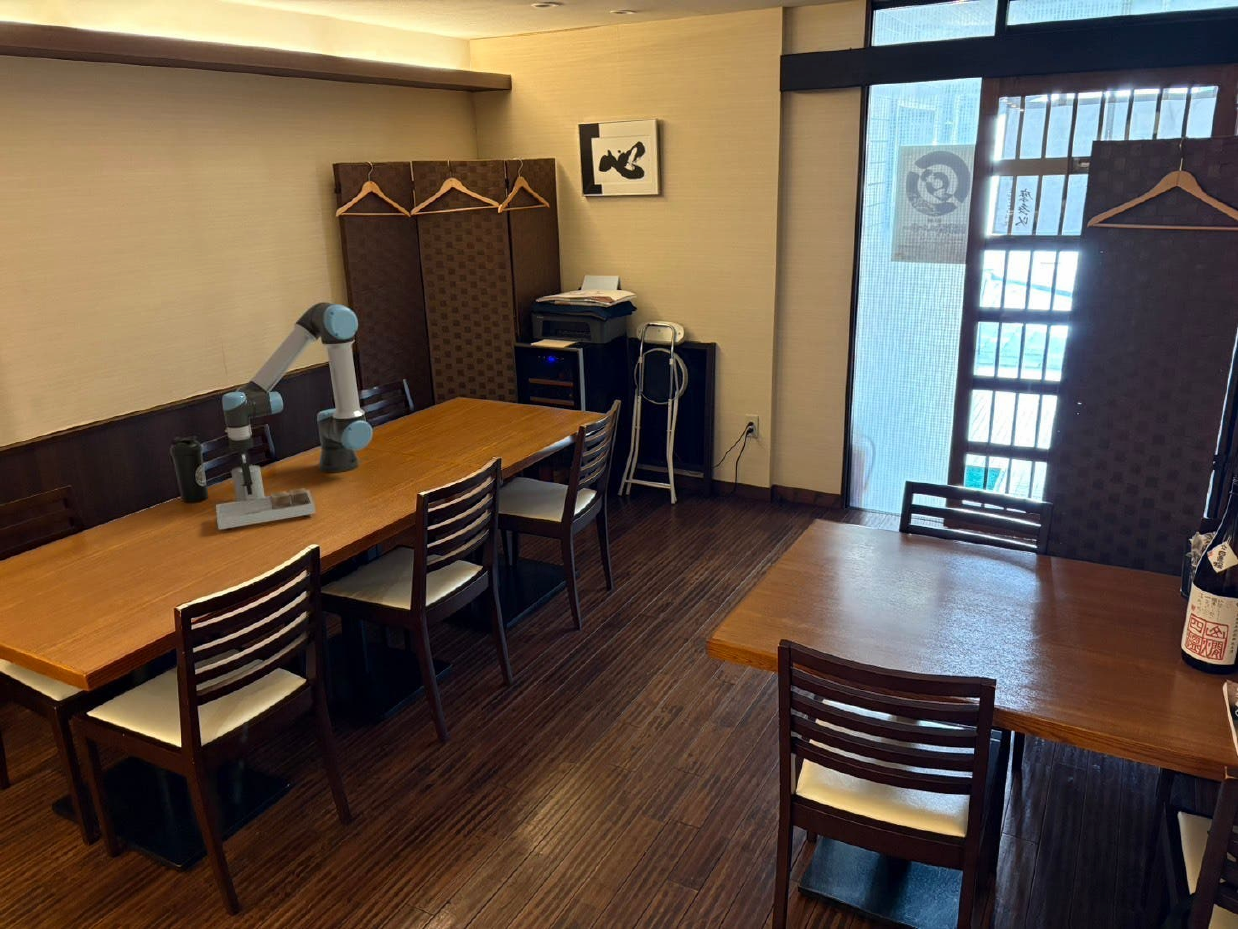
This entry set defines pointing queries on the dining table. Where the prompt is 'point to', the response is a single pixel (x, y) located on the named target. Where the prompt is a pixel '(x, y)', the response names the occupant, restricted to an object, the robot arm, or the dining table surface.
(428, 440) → the dining table surface
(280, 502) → the walnut block
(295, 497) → the walnut block
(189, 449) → the water bottle
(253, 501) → the tray
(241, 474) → the grey cylinder
